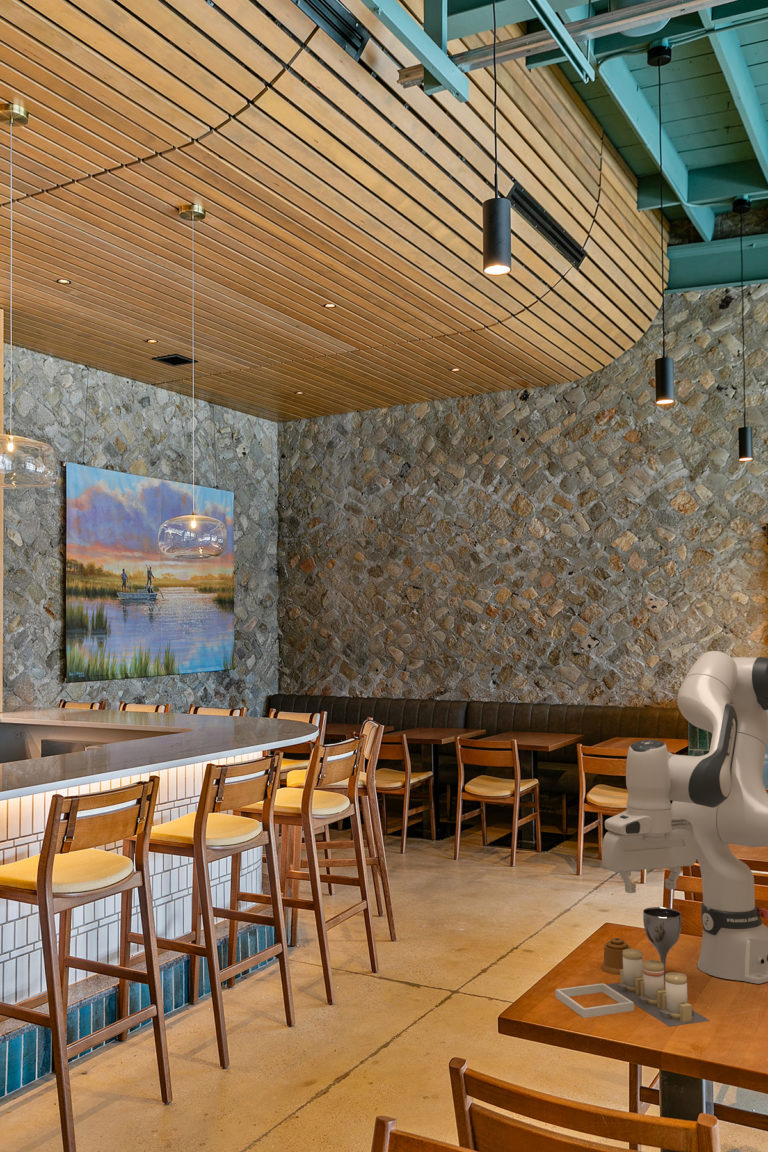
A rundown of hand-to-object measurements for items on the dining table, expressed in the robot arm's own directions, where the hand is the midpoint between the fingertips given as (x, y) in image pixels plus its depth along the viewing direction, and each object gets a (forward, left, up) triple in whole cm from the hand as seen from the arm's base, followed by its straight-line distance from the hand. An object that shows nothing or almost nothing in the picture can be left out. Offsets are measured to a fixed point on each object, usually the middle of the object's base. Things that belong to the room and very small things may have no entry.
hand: (650, 890), depth 190 cm
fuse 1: (0, -7, -22) cm, 23 cm away
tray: (+12, -3, -23) cm, 26 cm away
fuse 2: (0, +8, -22) cm, 23 cm away
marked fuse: (0, 0, -22) cm, 22 cm away
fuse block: (0, 0, -23) cm, 23 cm away
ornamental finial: (-4, -19, -24) cm, 30 cm away
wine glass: (-11, -12, -24) cm, 28 cm away
